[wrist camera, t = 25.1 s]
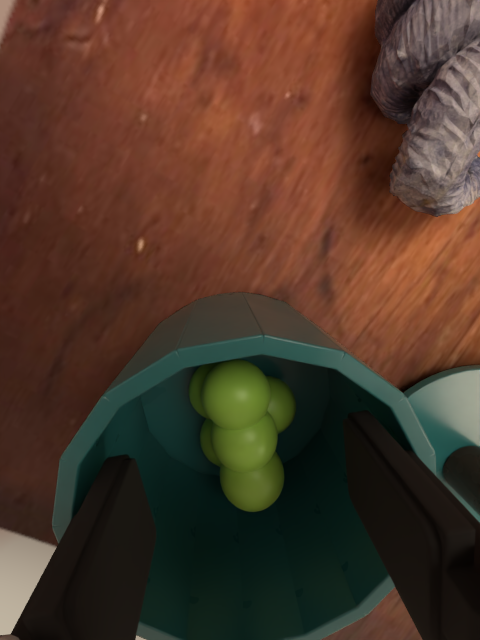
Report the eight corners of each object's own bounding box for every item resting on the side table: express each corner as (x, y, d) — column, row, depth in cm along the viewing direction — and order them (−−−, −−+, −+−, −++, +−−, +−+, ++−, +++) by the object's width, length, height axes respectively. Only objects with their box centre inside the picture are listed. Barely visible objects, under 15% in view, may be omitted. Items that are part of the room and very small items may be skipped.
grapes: (183, 345, 14) (167, 389, 10) (279, 327, 14) (306, 362, 10) (209, 457, 16) (205, 539, 11) (296, 440, 16) (326, 514, 11)
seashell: (421, 217, 15) (378, -14, 13) (582, 173, 11) (558, -176, 9) (373, 240, 12) (307, -60, 10) (573, 191, 8) (534, -347, 6)
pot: (111, 312, 14) (-6, 380, 7) (325, 275, 14) (436, 304, 7) (159, 492, 16) (112, 686, 9) (342, 458, 17) (437, 620, 9)
